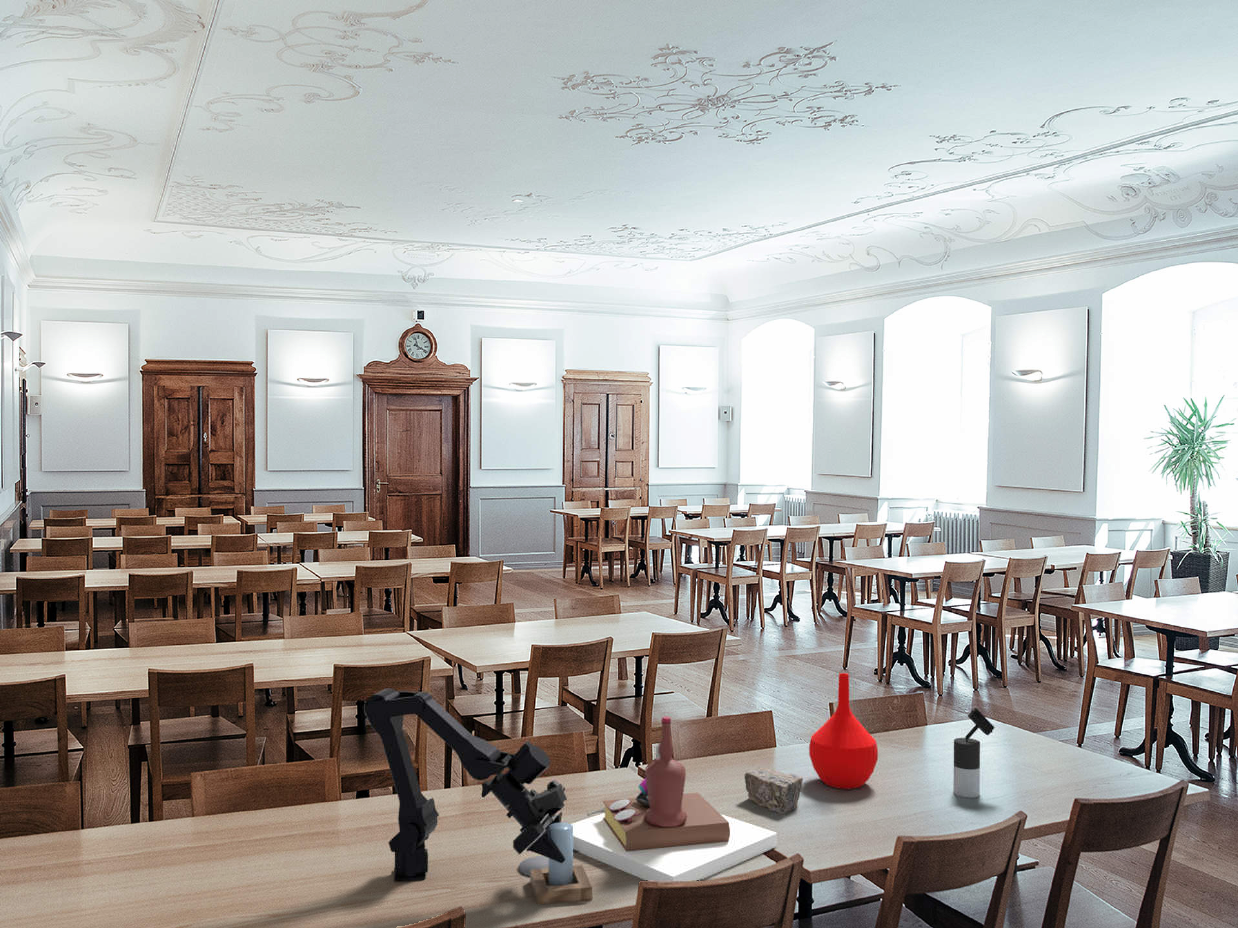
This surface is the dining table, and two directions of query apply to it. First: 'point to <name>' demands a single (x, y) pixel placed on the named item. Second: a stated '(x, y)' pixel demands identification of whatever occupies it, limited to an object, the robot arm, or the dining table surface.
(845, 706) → the vase
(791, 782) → the stone block
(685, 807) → the decorative still life
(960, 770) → the track light
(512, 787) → the robot arm
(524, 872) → the coaster
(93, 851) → the dining table surface
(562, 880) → the pale blue cylinder
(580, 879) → the pocket block
